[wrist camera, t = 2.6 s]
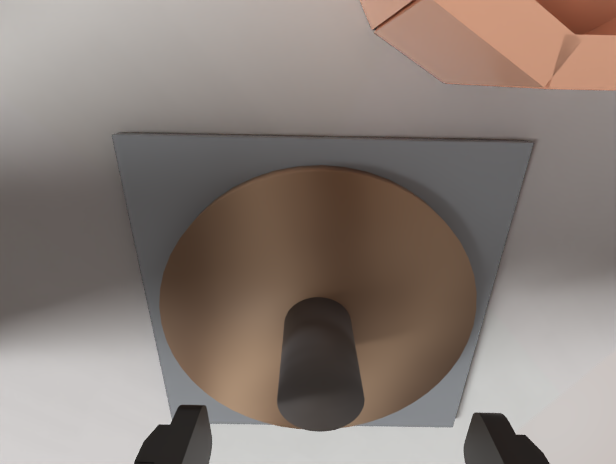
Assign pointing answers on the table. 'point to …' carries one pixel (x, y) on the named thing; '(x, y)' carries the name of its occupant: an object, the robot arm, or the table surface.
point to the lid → (317, 298)
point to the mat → (309, 152)
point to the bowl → (504, 40)
